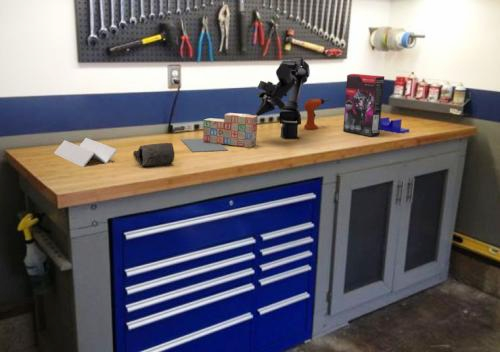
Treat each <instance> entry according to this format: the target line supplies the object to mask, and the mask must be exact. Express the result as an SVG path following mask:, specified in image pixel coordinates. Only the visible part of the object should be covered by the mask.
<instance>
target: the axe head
mask: <svg viewBox="0 0 500 352" xmlns="http://www.w3.org/2000/svg"><path fill="white" fill-rule="evenodd" d="M132 154H133V155H134V156H136V158H137V159H138V160H139V165H140V166H141V167H142V168H144V167H157V166H164V165H166V164H172V163H173V162H174V160H175V149H174V146H173V143H172V142H160V143H151V144H145V145H140V146H139V148H138V149H137V150H134V151H133V153H132Z"/></svg>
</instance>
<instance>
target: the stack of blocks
mask: <svg viewBox="0 0 500 352" xmlns="http://www.w3.org/2000/svg"><path fill="white" fill-rule="evenodd" d="M223 116H224V119H223V118H212V117H211V118H210V117H209V118H206V119H203V142H211V143H219V144H221V145H229V146H237V147H245V148H253V147H255V146H256V145H257V133H258V117H259V116H257V115H256V114H254V115H253V114H250V113H249V114H248V113H236V112H235V113H234V112H227V113H225V114H224V115H223Z"/></svg>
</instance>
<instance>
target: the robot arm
mask: <svg viewBox="0 0 500 352" xmlns="http://www.w3.org/2000/svg"><path fill="white" fill-rule="evenodd" d="M310 72H311V70H310V65H309V63H307V62H306V61H305V58H304V57H303V56H294V57H292V59H290V60H282V61H281V63H279V66H278V68H277V69H276V71H275V75H276V78H277V80H278V82H277V83H276V84H274V83H273V82H272V81H269V80H268V81H267V82H266V81H264V80H260V81H259V83H258V85H257V89H259V90H261V91H259V92H258V93H257V94H256V96H257V97H258V98H259V99H260V105H259V107H258V109H257V110H256V113H255V116H258V117H259V116H261V115H264V114H267V113H269V112H272V111H273V110H276V107H277V110H279V113H278V114H279V115H278V116H279V124H280V125H282V126H281V127H280V137H282V138H283V139H286V140H287V139H288V140H289V139H299V138H300V137H299V136H298V132H299V131H298V128H299V126H301V124H302V115H301V113H300V109H299V105H298V104H299V99H300V96H301V91H302V87H303V85H304V84H305V83H306V82H307V81H308V78H309V77H310V74H311V73H310ZM288 93H289V95H288ZM287 96H288V98H287V101H283V100H282V99H283V98H286V97H287Z"/></svg>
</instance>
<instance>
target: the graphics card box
mask: <svg viewBox="0 0 500 352" xmlns="http://www.w3.org/2000/svg"><path fill="white" fill-rule="evenodd" d="M384 85H385V76H384V75H372V74H371V75H370V74H369V75H368V74H361V73H349V74H347V75H346V85H345V86H346V88H345V103H344V114H343V115H344V116H343V125H342V126H343V129H342V132H344V133H351V134H356V135H357V134H358V135H361V136H367V137H376V136H379V135H380V131H381V130H380V120H381V118H382V117H381V115H382V107H383V93H384Z"/></svg>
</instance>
